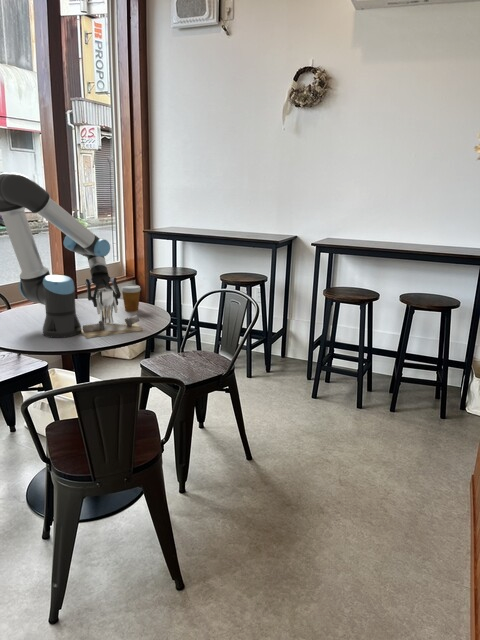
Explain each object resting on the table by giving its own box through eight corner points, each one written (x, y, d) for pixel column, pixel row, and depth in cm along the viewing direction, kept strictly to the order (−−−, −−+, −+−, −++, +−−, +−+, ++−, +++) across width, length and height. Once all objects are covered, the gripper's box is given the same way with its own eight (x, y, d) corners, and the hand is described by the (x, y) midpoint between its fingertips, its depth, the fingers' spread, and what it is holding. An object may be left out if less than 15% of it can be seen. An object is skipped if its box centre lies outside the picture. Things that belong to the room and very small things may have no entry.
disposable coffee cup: (143, 308, 242) (143, 285, 239) (138, 313, 233) (137, 289, 230) (125, 307, 243) (124, 284, 240) (119, 312, 234) (118, 288, 231)
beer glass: (118, 322, 215) (116, 289, 211) (106, 326, 209) (105, 292, 205) (106, 320, 219) (105, 287, 215) (95, 323, 213) (93, 290, 209)
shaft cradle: (86, 338, 194) (85, 324, 193) (79, 331, 202) (78, 318, 201) (143, 330, 207) (143, 317, 205) (135, 324, 215) (134, 312, 213)
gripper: (118, 272, 226) (128, 314, 217) (75, 274, 217) (83, 318, 208) (121, 263, 220) (131, 305, 211) (76, 265, 212) (85, 309, 202)
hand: (107, 311), depth 209 cm, fingers closed on beer glass, 7 cm apart
